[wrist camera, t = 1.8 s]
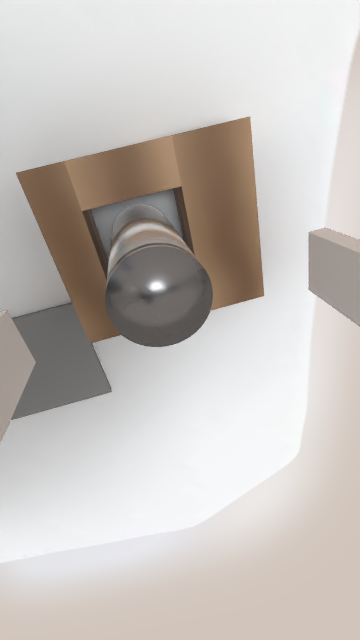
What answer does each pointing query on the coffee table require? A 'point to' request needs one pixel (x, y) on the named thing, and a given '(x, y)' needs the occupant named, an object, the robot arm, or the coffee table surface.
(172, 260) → the shiny metal cylinder
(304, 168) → the coffee table surface
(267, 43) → the coffee table surface
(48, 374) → the mat
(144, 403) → the coffee table surface
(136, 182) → the housing
